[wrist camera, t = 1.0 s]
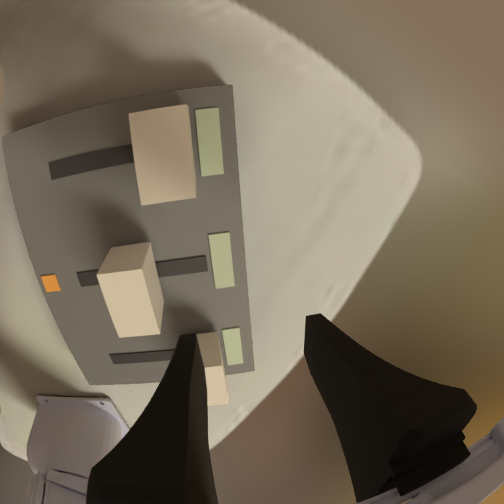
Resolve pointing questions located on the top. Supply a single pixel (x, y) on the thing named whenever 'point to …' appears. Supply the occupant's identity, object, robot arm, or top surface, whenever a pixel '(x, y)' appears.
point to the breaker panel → (134, 232)
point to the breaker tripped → (132, 290)
